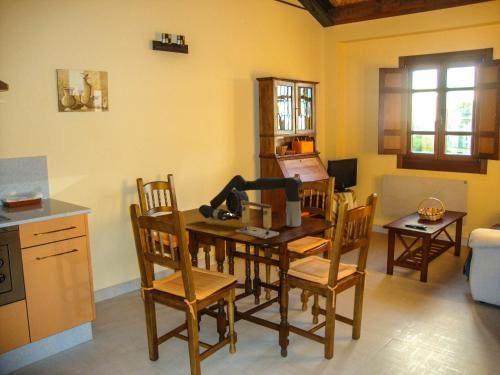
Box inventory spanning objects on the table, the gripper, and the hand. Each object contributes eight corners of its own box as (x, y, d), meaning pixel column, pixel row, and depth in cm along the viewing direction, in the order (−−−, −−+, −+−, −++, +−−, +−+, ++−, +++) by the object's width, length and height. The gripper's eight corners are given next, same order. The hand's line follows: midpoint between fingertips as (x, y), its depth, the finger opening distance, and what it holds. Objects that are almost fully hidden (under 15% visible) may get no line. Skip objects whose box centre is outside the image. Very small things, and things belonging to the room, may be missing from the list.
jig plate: (249, 228, 313) (249, 226, 312) (279, 234, 295) (279, 232, 294) (235, 231, 304) (235, 229, 303) (265, 238, 286) (265, 236, 285)
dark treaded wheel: (236, 211, 368) (235, 186, 365) (250, 215, 352) (250, 189, 349) (224, 213, 362) (223, 187, 359) (238, 217, 346) (238, 191, 343)
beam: (244, 203, 306) (244, 200, 306) (271, 208, 290) (271, 204, 289) (240, 204, 304) (240, 200, 304) (268, 209, 287) (268, 205, 287)
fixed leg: (267, 232, 295) (267, 207, 293) (271, 233, 293) (271, 207, 290) (262, 233, 292) (261, 208, 289) (266, 234, 289) (266, 209, 287)
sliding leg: (246, 227, 308) (245, 203, 306) (249, 228, 306) (249, 204, 303) (240, 228, 305) (240, 205, 302) (244, 229, 302) (244, 205, 300)
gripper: (213, 210, 316) (231, 214, 304) (227, 207, 326) (245, 211, 314) (214, 221, 317) (231, 225, 305) (228, 218, 327) (245, 222, 315)
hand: (238, 218), depth 310 cm, fingers closed
